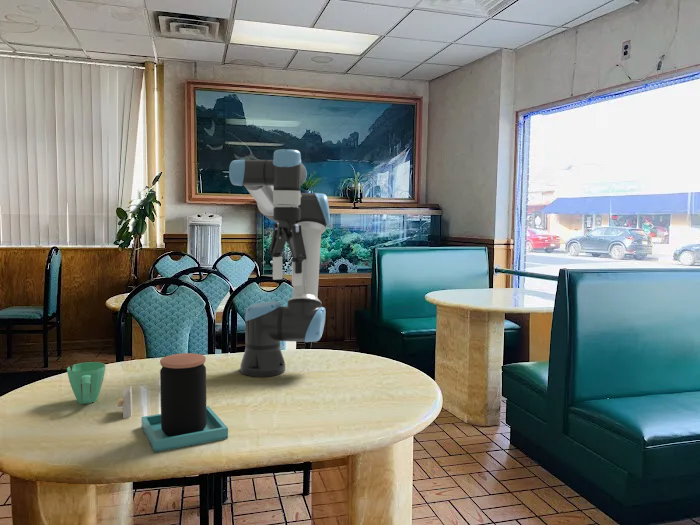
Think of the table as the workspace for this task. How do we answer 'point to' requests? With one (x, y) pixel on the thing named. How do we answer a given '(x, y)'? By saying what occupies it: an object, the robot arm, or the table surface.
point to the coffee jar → (183, 394)
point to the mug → (86, 380)
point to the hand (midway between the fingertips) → (286, 282)
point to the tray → (163, 442)
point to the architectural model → (126, 402)
